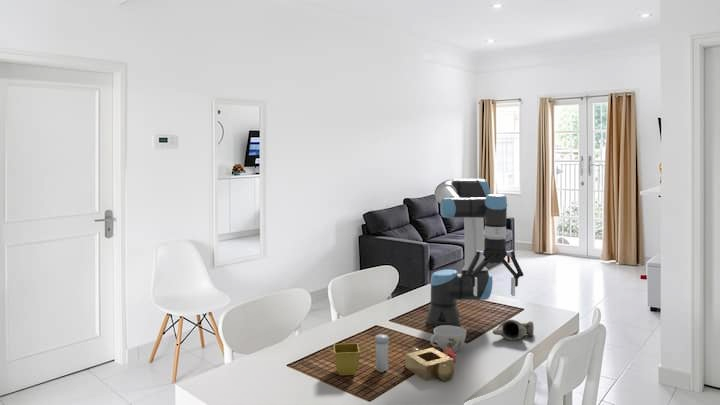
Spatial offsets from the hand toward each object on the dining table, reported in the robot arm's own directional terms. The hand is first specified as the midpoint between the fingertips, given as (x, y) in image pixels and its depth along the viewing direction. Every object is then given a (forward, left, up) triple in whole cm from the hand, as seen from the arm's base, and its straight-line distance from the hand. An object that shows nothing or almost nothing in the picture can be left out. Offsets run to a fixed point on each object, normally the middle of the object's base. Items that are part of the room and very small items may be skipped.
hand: (494, 295), depth 188 cm
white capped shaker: (-13, -40, -24) cm, 49 cm away
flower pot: (-17, -52, -24) cm, 60 cm away
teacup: (-15, -9, -24) cm, 30 cm away
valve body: (-4, -24, -24) cm, 35 cm away
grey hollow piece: (-12, +24, -25) cm, 36 cm away
